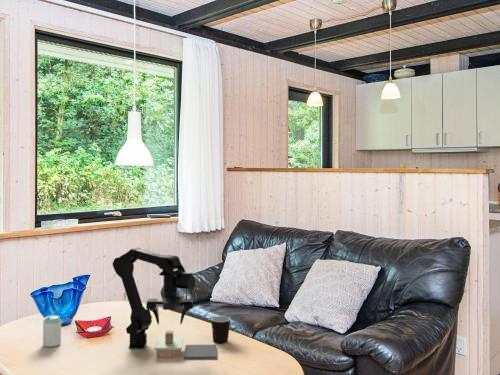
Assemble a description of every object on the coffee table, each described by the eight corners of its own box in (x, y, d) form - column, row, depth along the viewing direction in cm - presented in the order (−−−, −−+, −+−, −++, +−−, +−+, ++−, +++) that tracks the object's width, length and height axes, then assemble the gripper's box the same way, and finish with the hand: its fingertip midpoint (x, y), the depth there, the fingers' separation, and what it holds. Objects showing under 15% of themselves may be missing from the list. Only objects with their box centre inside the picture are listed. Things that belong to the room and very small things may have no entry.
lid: (154, 349, 191) (154, 336, 191) (157, 340, 202) (157, 327, 202) (181, 349, 192) (182, 336, 192) (183, 339, 203) (183, 327, 203)
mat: (184, 359, 191) (184, 356, 191) (185, 347, 204) (185, 344, 204) (216, 358, 193) (216, 356, 193) (216, 346, 206) (216, 344, 206)
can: (54, 348, 199) (54, 320, 199) (39, 347, 200) (39, 318, 200) (64, 342, 206) (64, 315, 205) (49, 341, 207) (49, 313, 207)
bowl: (155, 358, 192) (155, 349, 192) (157, 348, 202) (158, 340, 202) (180, 357, 193) (180, 349, 193) (181, 348, 203) (182, 340, 203)
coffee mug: (227, 345, 207) (227, 322, 207) (208, 343, 209) (208, 321, 209) (233, 336, 219) (234, 315, 218) (215, 334, 220) (215, 313, 220)
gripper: (145, 291, 187) (144, 331, 188) (193, 292, 189) (192, 331, 190) (148, 284, 198) (147, 322, 199) (193, 285, 200) (192, 321, 201)
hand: (169, 324), depth 197 cm, fingers open, 9 cm apart
